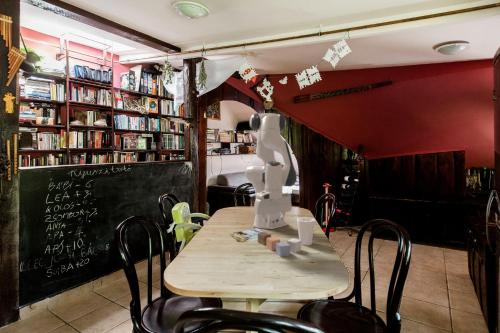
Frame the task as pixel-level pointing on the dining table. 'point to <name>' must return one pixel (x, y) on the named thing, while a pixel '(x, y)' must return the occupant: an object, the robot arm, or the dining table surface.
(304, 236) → the foam cup
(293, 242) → the pale grey cube
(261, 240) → the walnut cube
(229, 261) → the dining table surface
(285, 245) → the slate blue cube
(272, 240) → the terracotta cube
